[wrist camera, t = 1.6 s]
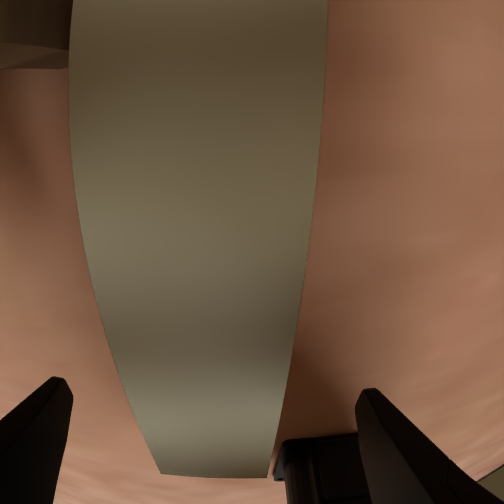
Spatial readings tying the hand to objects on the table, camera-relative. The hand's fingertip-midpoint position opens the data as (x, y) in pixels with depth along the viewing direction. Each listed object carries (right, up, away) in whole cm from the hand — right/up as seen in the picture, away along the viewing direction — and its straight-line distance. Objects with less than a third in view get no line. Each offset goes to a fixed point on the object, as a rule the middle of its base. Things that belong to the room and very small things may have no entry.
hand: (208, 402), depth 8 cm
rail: (0, +4, +3) cm, 5 cm away
